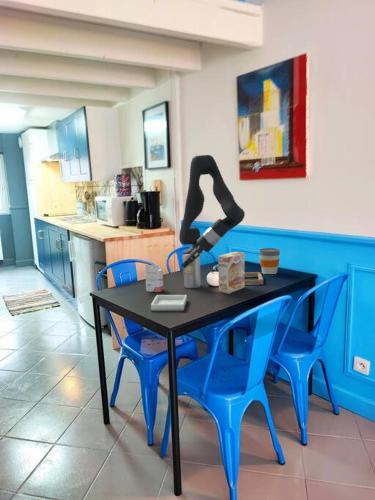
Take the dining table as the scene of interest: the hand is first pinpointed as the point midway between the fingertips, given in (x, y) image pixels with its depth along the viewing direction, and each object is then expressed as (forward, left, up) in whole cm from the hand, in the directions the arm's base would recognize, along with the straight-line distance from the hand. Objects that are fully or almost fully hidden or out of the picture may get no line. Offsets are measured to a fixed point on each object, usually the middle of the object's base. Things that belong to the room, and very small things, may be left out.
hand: (183, 265), depth 173 cm
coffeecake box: (-28, +22, -20) cm, 41 cm away
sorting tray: (-1, -8, -20) cm, 21 cm away
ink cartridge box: (-27, -20, -20) cm, 39 cm away
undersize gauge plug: (0, +2, -4) cm, 5 cm away
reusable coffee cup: (-64, +46, -20) cm, 82 cm away
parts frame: (-47, +30, -20) cm, 59 cm away
